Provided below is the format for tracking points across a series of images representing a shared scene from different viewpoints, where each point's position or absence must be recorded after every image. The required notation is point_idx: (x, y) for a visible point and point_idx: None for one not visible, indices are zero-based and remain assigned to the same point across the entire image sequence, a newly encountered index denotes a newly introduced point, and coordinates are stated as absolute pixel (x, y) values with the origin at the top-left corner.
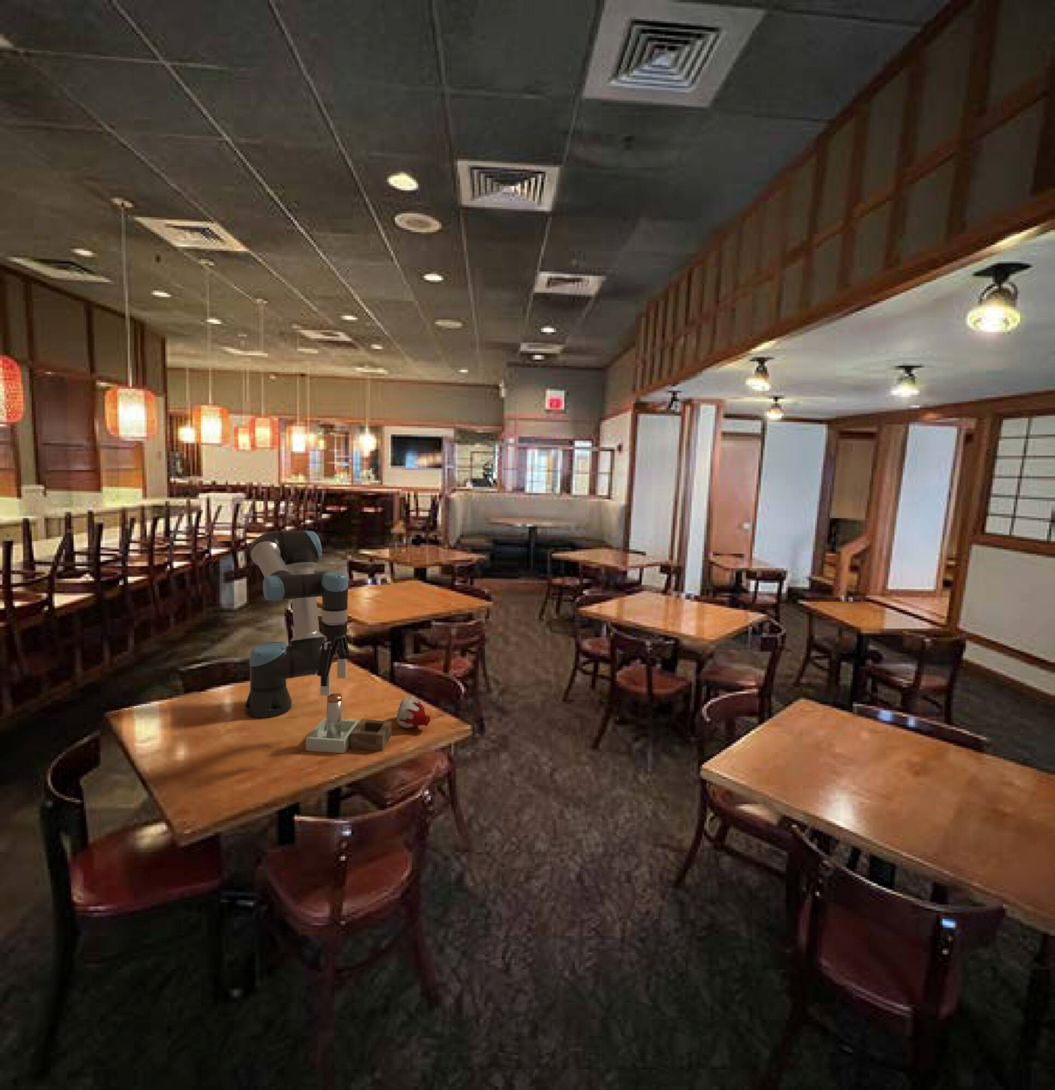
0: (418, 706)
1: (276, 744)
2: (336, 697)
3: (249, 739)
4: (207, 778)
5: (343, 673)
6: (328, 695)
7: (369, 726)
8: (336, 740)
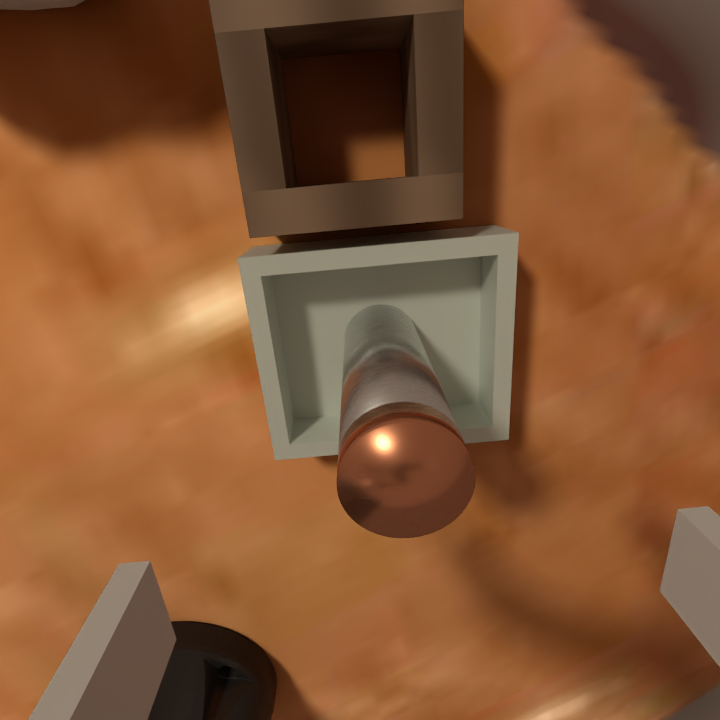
0: None
1: (455, 528)
2: (437, 454)
3: (434, 619)
4: None
5: (126, 648)
6: (711, 514)
7: (285, 158)
8: (515, 280)
